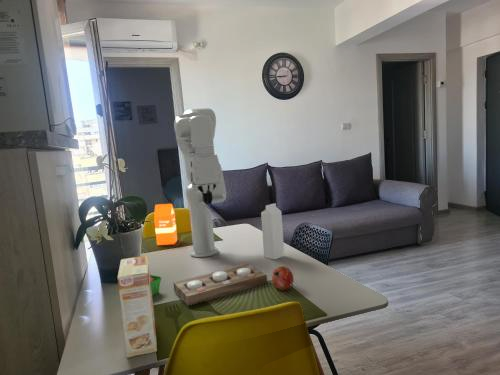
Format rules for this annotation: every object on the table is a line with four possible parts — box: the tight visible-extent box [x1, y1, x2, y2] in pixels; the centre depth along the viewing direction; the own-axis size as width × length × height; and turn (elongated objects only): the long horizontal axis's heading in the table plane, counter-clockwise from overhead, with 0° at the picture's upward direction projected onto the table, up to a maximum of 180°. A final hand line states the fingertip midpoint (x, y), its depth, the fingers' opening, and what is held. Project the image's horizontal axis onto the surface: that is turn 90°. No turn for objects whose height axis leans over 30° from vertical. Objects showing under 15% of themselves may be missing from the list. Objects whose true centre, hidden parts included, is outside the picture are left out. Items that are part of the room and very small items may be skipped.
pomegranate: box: [271, 265, 295, 291], centre depth 116 cm, size 7×7×10 cm
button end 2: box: [237, 268, 251, 277], centre depth 125 cm, size 5×5×2 cm
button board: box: [173, 263, 268, 307], centre depth 120 cm, size 14×28×3 cm, turn 119°
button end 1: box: [187, 280, 202, 290], centre depth 116 cm, size 5×5×2 cm
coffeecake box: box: [117, 255, 158, 358], centre depth 90 cm, size 15×7×20 cm, turn 17°
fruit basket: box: [150, 274, 162, 296], centre depth 117 cm, size 11×9×11 cm
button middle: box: [213, 271, 227, 283], centre depth 120 cm, size 5×5×2 cm
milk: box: [260, 202, 285, 261], centre depth 147 cm, size 6×6×22 cm
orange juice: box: [153, 203, 178, 246], centre depth 182 cm, size 8×9×20 cm
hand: (208, 203), depth 127 cm, fingers closed
